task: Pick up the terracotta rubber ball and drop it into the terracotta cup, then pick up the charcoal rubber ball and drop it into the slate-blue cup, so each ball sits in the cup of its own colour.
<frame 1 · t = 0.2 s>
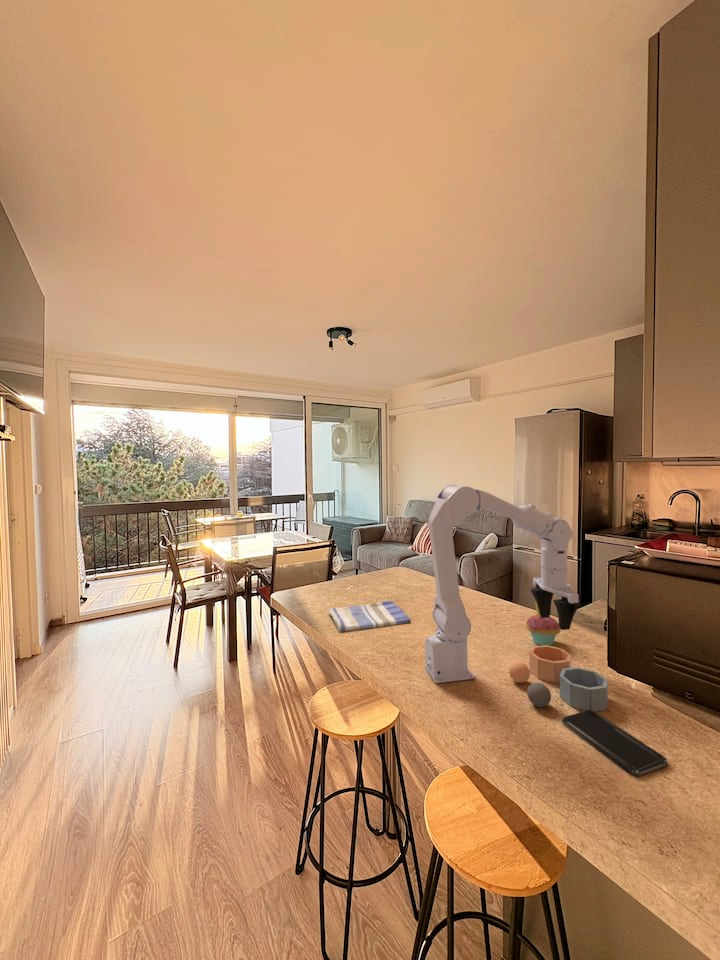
hand: (554, 623, 100), 10 cm above the counter, tool pointing down, fingers open, 7 cm apart
terracotta cup: (550, 672, 95), on the counter
phone: (610, 745, 72), on the counter
terracotta ball: (519, 672, 92), point 2 cm above the counter
dish towel: (367, 620, 133), on the counter
cupcake: (543, 642, 112), on the counter
charcoal ball: (539, 694, 83), point 2 cm above the counter
slate cup: (583, 699, 85), on the counter
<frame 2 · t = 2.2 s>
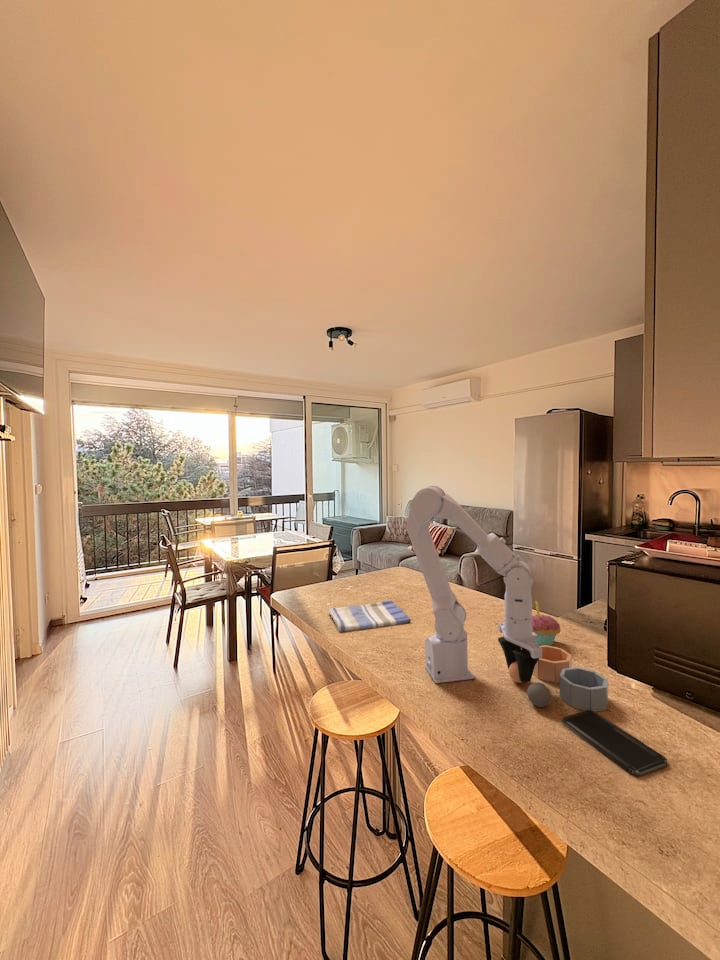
hand: (519, 675, 92), 1 cm above the counter, tool pointing down, fingers closed on terracotta ball, 4 cm apart
terracotta ball: (519, 672, 92), point 2 cm above the counter, touching gripper
everything else where it was.
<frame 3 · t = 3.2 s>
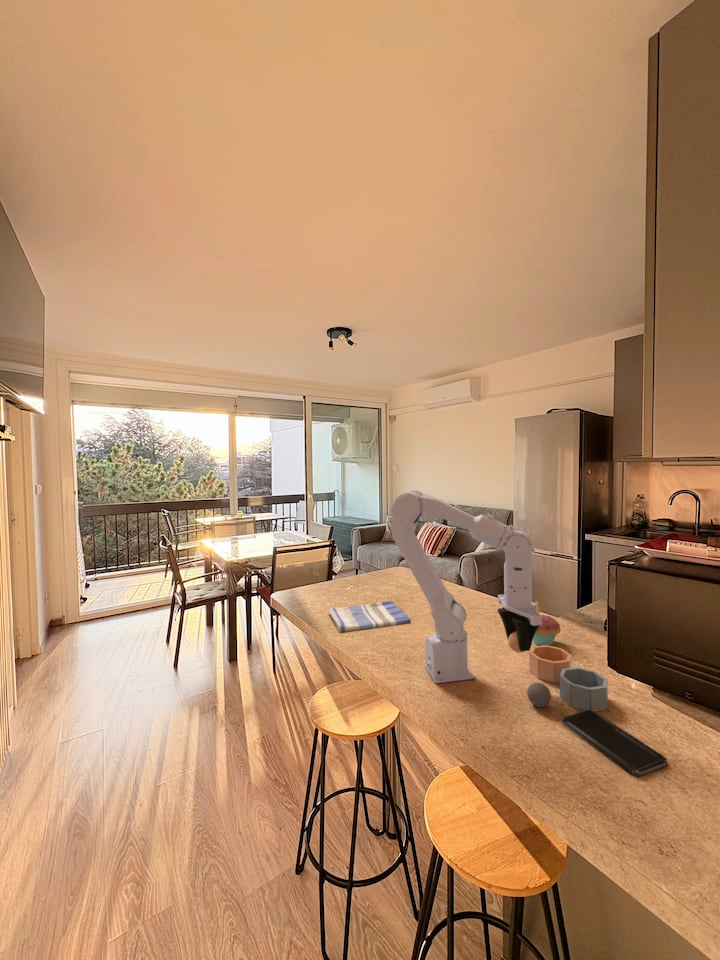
hand: (518, 645, 92), 8 cm above the counter, tool pointing down, fingers closed on terracotta ball, 4 cm apart
terracotta ball: (518, 641, 92), point 9 cm above the counter, touching gripper
everything else where it was.
when the fingers open (6 cm above the counter, at t = 4.6 s): terracotta ball drops 4 cm, resting on terracotta cup.
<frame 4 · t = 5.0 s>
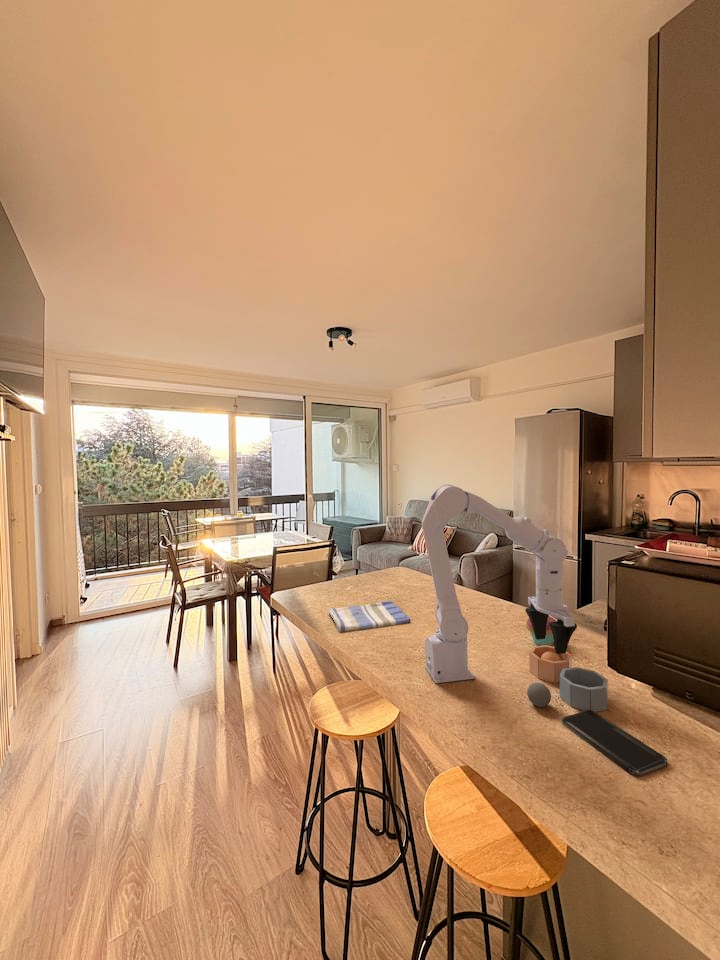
hand: (550, 645, 95), 6 cm above the counter, tool pointing down, fingers open, 7 cm apart
terracotta ball: (551, 661, 95), point 3 cm above the counter, tilted 9°, touching terracotta cup
everything else where it was.
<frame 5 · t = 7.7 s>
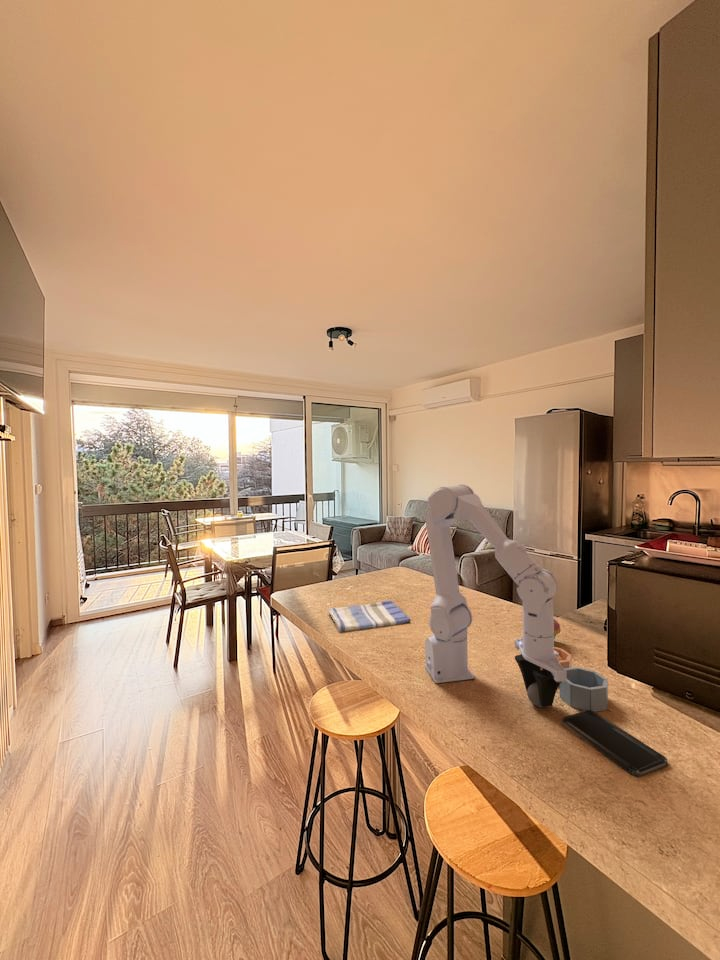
hand: (539, 698, 83), 1 cm above the counter, tool pointing down, fingers closed on charcoal ball, 4 cm apart
terracotta ball: (553, 663, 94), point 3 cm above the counter, tilted 33°, touching terracotta cup
charcoal ball: (539, 694, 83), point 2 cm above the counter, touching gripper
everything else where it was.
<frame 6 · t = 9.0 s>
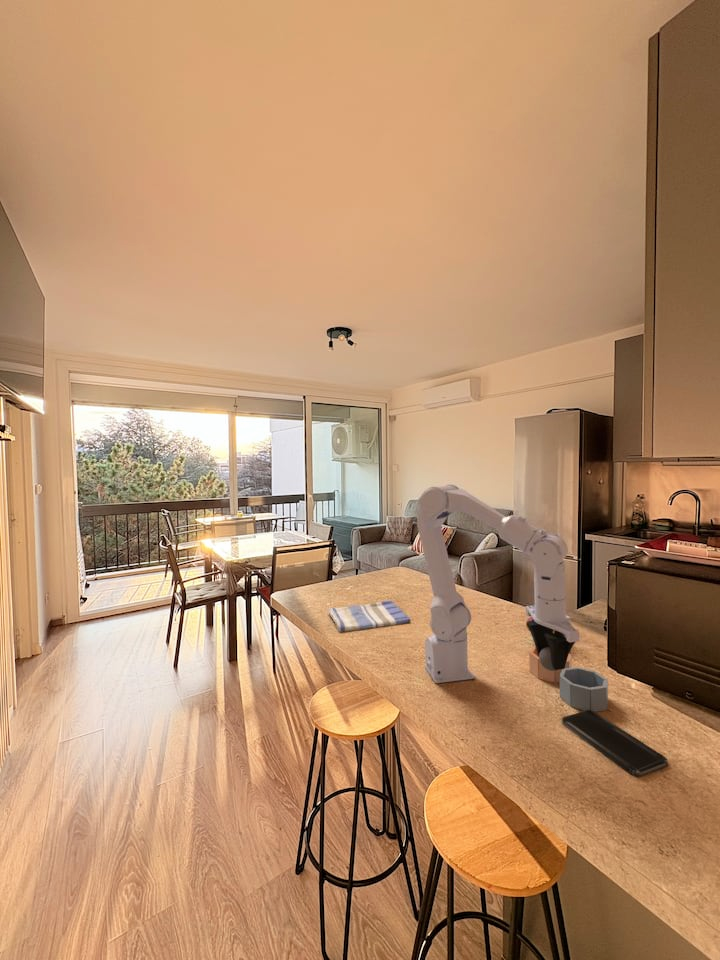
hand: (551, 662, 83), 8 cm above the counter, tool pointing down, fingers closed on charcoal ball, 4 cm apart
charcoal ball: (550, 658, 83), point 9 cm above the counter, touching gripper
everything else where it was.
when the fingers open (6 cm above the counter, at t = 10.2 s): charcoal ball drops 4 cm, resting on slate cup.
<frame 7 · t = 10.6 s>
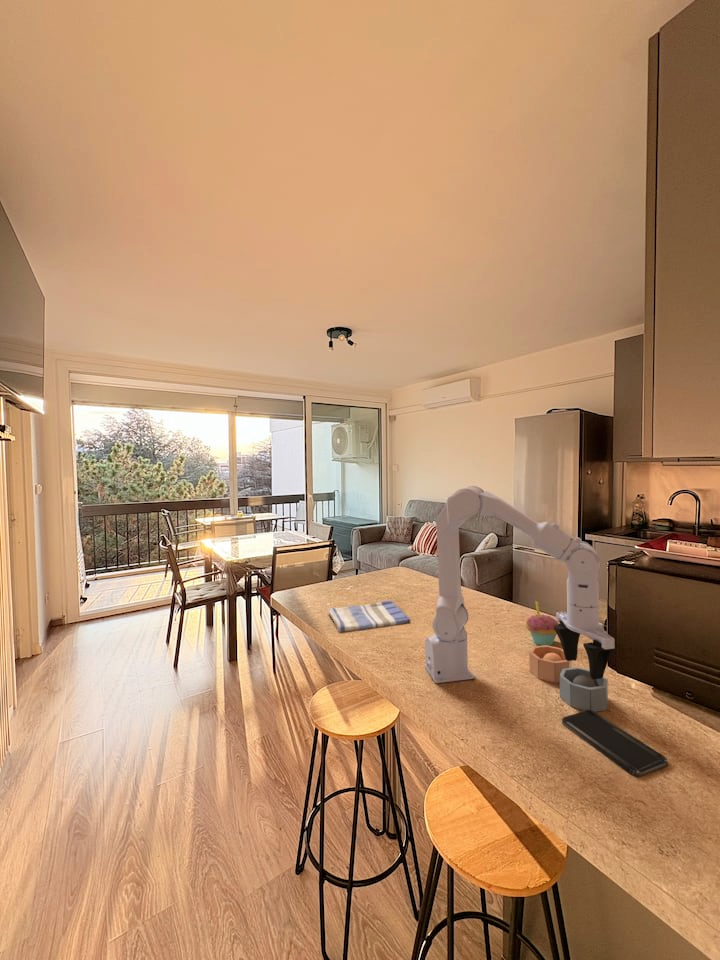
hand: (583, 668, 84), 6 cm above the counter, tool pointing down, fingers open, 7 cm apart
charcoal ball: (584, 687, 84), point 3 cm above the counter, tilted 10°, touching slate cup
everything else where it was.
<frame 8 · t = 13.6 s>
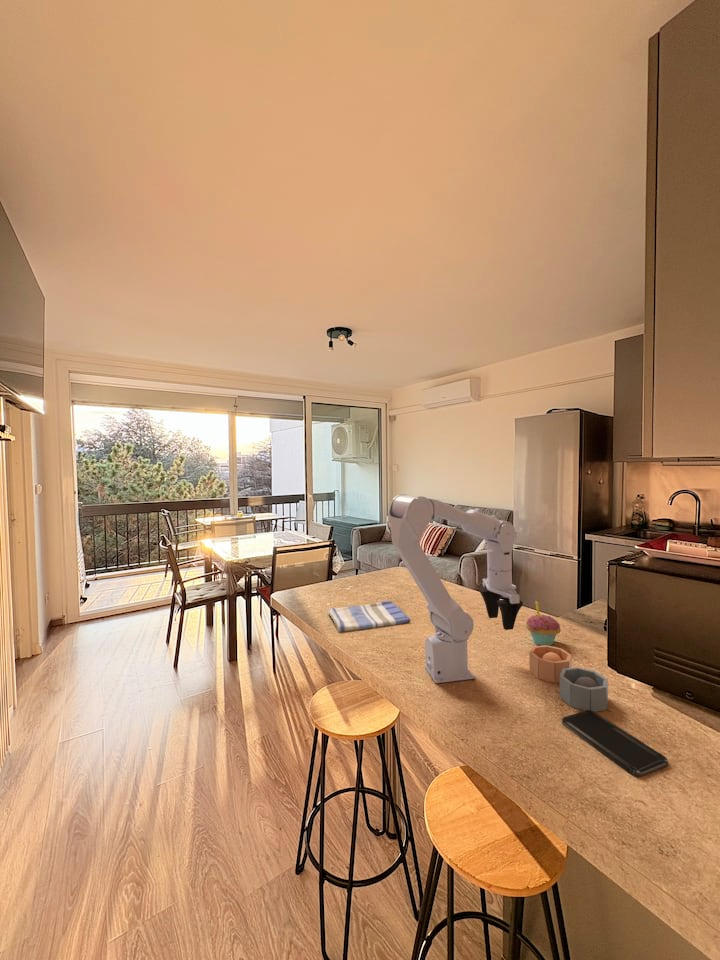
hand: (500, 623, 102), 9 cm above the counter, tool pointing down, fingers open, 7 cm apart
terracotta ball: (552, 662, 95), point 3 cm above the counter, tilted 19°, touching terracotta cup
charcoal ball: (586, 688, 84), point 3 cm above the counter, tilted 26°, touching slate cup
everything else where it was.
at the end: terracotta ball 0.6 cm off-centre on the terracotta cup, point 2.7 cm above the terracotta cup's base; charcoal ball 0.9 cm off-centre on the slate cup, point 2.7 cm above the slate cup's base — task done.
